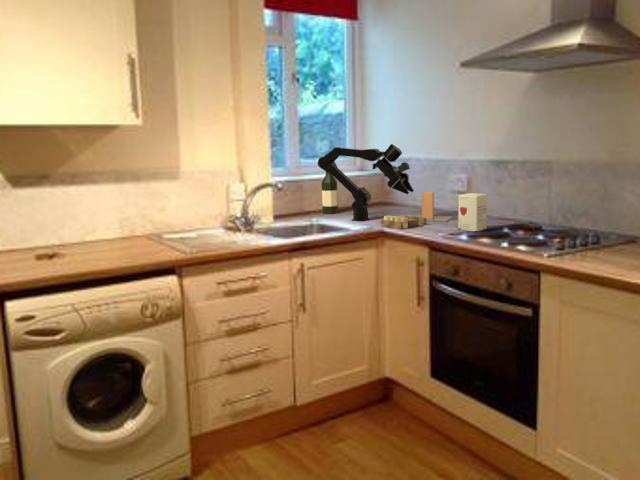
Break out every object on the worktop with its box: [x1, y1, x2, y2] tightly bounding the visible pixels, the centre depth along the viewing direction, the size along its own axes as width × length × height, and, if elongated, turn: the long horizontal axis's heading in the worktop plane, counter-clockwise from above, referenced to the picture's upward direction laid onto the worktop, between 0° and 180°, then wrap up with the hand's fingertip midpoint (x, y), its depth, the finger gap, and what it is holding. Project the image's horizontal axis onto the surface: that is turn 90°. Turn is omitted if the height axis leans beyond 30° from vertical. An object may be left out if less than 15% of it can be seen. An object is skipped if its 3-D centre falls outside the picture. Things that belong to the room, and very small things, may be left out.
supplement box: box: [457, 192, 488, 232], centre depth 256 cm, size 9×9×15 cm
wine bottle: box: [321, 171, 339, 215], centre depth 324 cm, size 8×8×30 cm
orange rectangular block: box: [421, 191, 435, 219], centre depth 283 cm, size 5×3×12 cm, turn 66°
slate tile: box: [412, 215, 453, 223], centre depth 284 cm, size 20×14×2 cm
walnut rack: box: [381, 215, 427, 230], centre depth 268 cm, size 12×16×4 cm
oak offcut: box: [395, 216, 409, 230], centre depth 262 cm, size 5×3×4 cm, turn 39°
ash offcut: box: [383, 215, 398, 221], centre depth 267 cm, size 5×3×4 cm, turn 39°
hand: (410, 192), depth 285 cm, fingers open, 9 cm apart
